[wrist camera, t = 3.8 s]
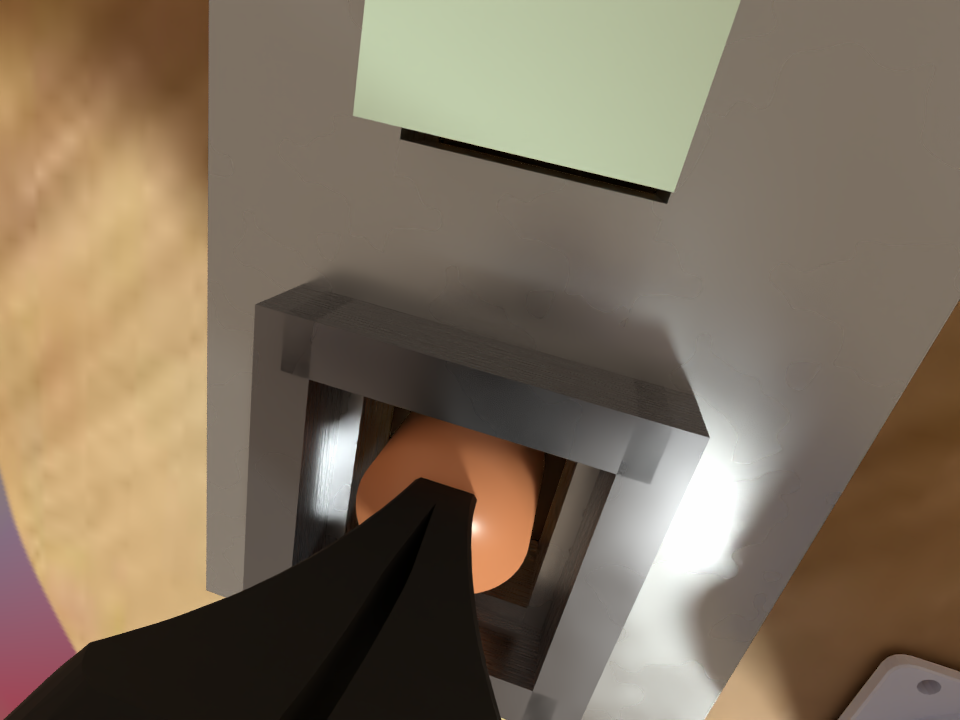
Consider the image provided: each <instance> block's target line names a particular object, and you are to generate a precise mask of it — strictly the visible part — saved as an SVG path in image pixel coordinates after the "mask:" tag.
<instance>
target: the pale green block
mask: <svg viewBox="0 0 960 720" xmlns="http://www.w3.org/2000/svg"><path fill="white" fill-rule="evenodd" d="M740 1H741V0H365V5H364V15H363V24H362V34H361V43H360V53H359V62H358V72H357V81H356V91H355V100H354V110H353V116H356V117H360V118H364V119H369V120H373V121H377V122H381V123H385V124H389V125H394V126H398V127H402V128H406V129H410V130H415V131H419V132H423V133H427V134H431V135H435V136H440V137H444V138H448V139H452V140H456V141H461V142H465V143H469V144H473V145H477V146H481V147H486V148H490V149H494V150H498V151H502V152H507V153H511V154H515V155H519V156H523V157H527V158H532V159H536V160H540V161H544V162H548V163H553V164H557V165H561V166H565V167H569V168H573V169H578V170H582V171H586V172H590V173H594V174H599V175H603V176H607V177H611V178H615V179H619V180H624V181H628V182H632V183H636V184H640V185H645V186H649V187H653V188H657V189H661V190H665V191H670V192H674V191H675V188H676V185H677V182H678V179H679V176H680V173H681V170H682V168H683V165H684V162H685V159H686V156H687V153H688V150H689V147H690V145H691V142H692V139H693V136H694V133H695V130H696V127H697V125H698V122H699V119H700V116H701V113H702V110H703V107H704V104H705V102H706V99H707V96H708V93H709V90H710V87H711V84H712V81H713V79H714V76H715V73H716V70H717V67H718V64H719V61H720V58H721V56H722V53H723V50H724V47H725V44H726V41H727V38H728V36H729V33H730V30H731V27H732V24H733V21H734V18H735V15H736V13H737V10H738V7H739V4H740Z"/></svg>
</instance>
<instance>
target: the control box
mask: <svg viewBox="0 0 960 720" xmlns="http://www.w3.org/2000/svg"><path fill="white" fill-rule="evenodd" d="M364 5H365V0H209V111H208V341H207V571H206V590H207V591H210V592H213V593H215V594H218V595H221V596H223V597H226V598H227V597H229V596H232V595H234V594H236V593H239V592H241V591H243V590H245V589H248V588H250V587H252V586H254V585H256V584H258V583H260V582H262V581H264V580H266V579H268V578H271V577H273V576H275V575H277V574H279V573H281V572H283V571H285V570H286V569H288V568H290V567H292V566H294V565H296V564H298V563H299V562H301V561H303V560H305V559H307V558H308V557H310V556H312V555H313V554H315V553H317V552H319V551H320V550H322V549H323V548H325V547H327V546H328V545H330V544H331V543H333V542H334V541H336V540H337V539H339V538H340V537H342V536H343V535H345V534H347V533H348V532H350V531H351V530H353V529H354V528H355V527H357V526H358V525H359V523H358V519H357V514H356V495H357V490H358V486H359V484H360V481H361V479H362V477H363V475H364V474H365V472H366V470H367V469H368V468H369V466H370V465H371V464H372V463H373V461H374V460H375V459H376V457H377V456H378V455H379V453H380V452H381V451H382V449H383V448H384V447H385V446H386V444H387V443H388V441H389V435H390V429H391V423H392V417H393V411H394V406H397V407H400V408H403V409H406V410H410V411H413V412H416V413H419V414H423V415H426V416H429V417H432V418H436V419H439V420H442V421H445V422H449V423H452V424H455V425H458V426H462V427H465V428H468V429H471V430H474V431H478V432H481V433H484V434H487V435H491V436H494V437H497V438H500V439H504V440H507V441H510V442H513V443H517V444H520V445H523V446H526V447H530V448H533V449H536V450H539V451H543V452H546V453H549V454H552V455H555V456H559V457H562V458H565V459H567V460H566V463H565V466H564V468H563V471H562V474H561V477H560V480H559V483H558V486H557V489H556V492H555V495H554V498H553V501H552V504H551V507H550V510H549V513H548V516H547V519H546V522H545V525H544V528H543V531H542V534H541V537H540V540H539V542H538V541H535V540H532V539H530V543H529V547H528V551H527V554H526V557H525V559H524V561H523V563H522V564H521V566H520V568H519V569H518V570H517V571H516V572H515V574H514V575H513V576H512V577H510V578H509V579H508V580H507V581H505V582H504V583H502V584H501V585H499V586H497V587H495V588H492V589H490V590H488V591H484V592H480V593H475V594H474V596H475V604H476V612H477V618H478V625H479V630H480V636H481V641H482V646H483V651H484V656H485V660H486V665H487V669H488V673H489V677H490V681H491V684H492V688H493V691H494V695H495V699H496V702H497V706H498V709H499V713H500V716H501V718H504V719H506V720H705V718H706V716H707V715H708V713H709V711H710V710H711V708H712V706H713V705H714V703H715V701H716V700H717V698H718V696H719V695H720V693H721V692H722V690H723V688H724V687H725V685H726V683H727V682H728V680H729V678H730V677H731V675H732V673H733V672H734V670H735V668H736V667H737V665H738V664H739V662H740V660H741V659H742V657H743V655H744V654H745V652H746V650H747V649H748V647H749V645H750V644H751V642H752V640H753V639H754V637H755V636H756V634H757V632H758V631H759V629H760V627H761V626H762V624H763V622H764V621H765V619H766V617H767V616H768V614H769V612H770V611H771V609H772V608H773V606H774V604H775V603H776V601H777V599H778V598H779V596H780V594H781V593H782V591H783V589H784V588H785V586H786V585H787V583H788V581H789V580H790V578H791V576H792V575H793V573H794V571H795V570H796V568H797V566H798V565H799V563H800V561H801V560H802V558H803V557H804V555H805V553H806V552H807V550H808V548H809V547H810V545H811V543H812V542H813V540H814V538H815V537H816V535H817V533H818V532H819V530H820V529H821V527H822V525H823V524H824V522H825V520H826V519H827V517H828V515H829V514H830V512H831V510H832V509H833V507H834V505H835V504H836V502H837V501H838V499H839V497H840V496H841V494H842V492H843V491H844V489H845V487H846V486H847V484H848V482H849V481H850V479H851V477H852V476H853V474H854V473H855V471H856V469H857V468H858V466H859V464H860V463H861V461H862V459H863V458H864V456H865V454H866V453H867V451H868V449H869V448H870V446H871V445H872V443H873V441H874V440H875V438H876V436H877V435H878V433H879V431H880V430H881V428H882V426H883V425H884V423H885V421H886V420H887V418H888V417H889V415H890V413H891V412H892V410H893V408H894V407H895V405H896V403H897V402H898V400H899V398H900V397H901V395H902V393H903V392H904V390H905V389H906V387H907V385H908V384H909V382H910V380H911V379H912V377H913V375H914V374H915V372H916V370H917V369H918V367H919V365H920V364H921V362H922V361H923V359H924V357H925V356H926V354H927V352H928V351H929V349H930V347H931V346H932V344H933V342H934V341H935V339H936V337H937V336H938V334H939V333H940V331H941V329H942V328H943V326H944V324H945V323H946V321H947V319H948V318H949V316H950V314H951V313H952V311H953V310H954V308H955V306H956V305H957V303H958V301H959V300H960V0H741V1H740V4H739V7H738V10H737V13H736V15H735V18H734V21H733V24H732V27H731V30H730V33H729V36H728V38H727V41H726V44H725V47H724V50H723V53H722V56H721V58H720V61H719V64H718V67H717V70H716V73H715V76H714V79H713V81H712V84H711V87H710V90H709V93H708V96H707V99H706V102H705V104H704V107H703V110H702V113H701V116H700V119H699V122H698V125H697V127H696V130H695V133H694V136H693V139H692V142H691V145H690V147H689V150H688V153H687V156H686V159H685V162H684V165H683V168H682V170H681V173H680V176H679V179H678V182H677V185H676V188H675V191H674V192H670V191H665V190H661V189H657V191H656V194H652V193H647V192H643V191H639V190H635V189H631V188H627V187H623V186H618V185H614V184H610V183H606V182H602V181H598V180H593V179H589V178H585V177H581V176H577V175H573V174H569V173H564V172H560V171H556V170H552V169H548V168H544V167H539V166H535V165H531V164H527V163H523V162H519V161H514V160H510V159H506V158H502V157H498V156H494V155H490V154H485V153H481V152H477V151H473V150H469V149H465V148H460V147H456V146H452V145H448V144H444V143H440V142H439V138H440V136H435V135H431V134H427V133H423V132H419V131H415V130H410V129H406V128H402V127H398V126H394V125H389V124H385V123H381V122H377V121H373V120H369V119H364V118H360V117H356V116H353V110H354V100H355V91H356V81H357V72H358V62H359V53H360V43H361V34H362V24H363V15H364Z"/></svg>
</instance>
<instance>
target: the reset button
mask: <svg viewBox="0 0 960 720" xmlns="http://www.w3.org/2000/svg"><path fill="white" fill-rule="evenodd" d="M544 465H545V457H544V452H543V451H539V450H536V449H533V448H530V447H526V446H523V445H520V444H517V443H513V442H510V441H507V440H504V439H500V438H497V437H494V436H491V435H487V434H484V433H481V432H478V431H474V430H471V429H468V428H465V427H462V426H458V425H455V424H452V423H449V422H445V421H442V420H439V419H436V418H432V417H429V416H426V415H423V414H419V413H416V412H413V411H411V413H410V414H409V415H408V417H407V418H406V419H405V421H404V422H403V423H402V425H401V426H400V427H399V428H398V430H397V431H396V432H395V434H394V435H393V436H392V438H391V439H390V440H389V442H388V443H387V444H386V446H385V447H384V448H383V449H382V451H381V452H380V453H379V455H378V456H377V457H376V459H375V460H374V461H373V463H372V464H371V465H370V466H369V468H368V469H367V470H366V472H365V474H364V475H363V477H362V479H361V481H360V484H359V486H358V490H357V495H356V514H357V519H358V523H359V525H360V524H361V523H362V522H364V521H365V520H366V519H368V518H369V517H371V516H372V515H373V514H375V513H376V512H377V511H379V510H380V509H381V508H383V507H384V506H385V505H386V504H388V503H389V502H390V501H391V500H393V499H394V498H395V497H396V496H397V495H399V494H400V493H401V492H402V491H403V490H404V489H406V488H407V487H408V486H409V485H410V484H411V483H412V482H413V481H414V480H416V479H418V478H420V477H422V478H425V479H428V480H431V481H435V482H438V483H441V484H444V485H447V486H450V487H453V488H456V489H459V490H463V491H466V492H469V493H472V494H474V495H475V497H476V499H477V503H476V506H475V510H474V514H473V522H472V538H471V550H472V574H473V586H474V594H475V593H480V592H484V591H488V590H490V589H492V588H495V587H497V586H499V585H501V584H502V583H504V582H505V581H507V580H508V579H509V578H510V577H512V576H513V575H514V574H515V572H516V571H517V570H518V569H519V568H520V566H521V564H522V563H523V561H524V559H525V557H526V554H527V551H528V547H529V543H530V538H531V533H532V528H533V523H534V518H535V513H536V508H537V503H538V498H539V493H540V488H541V483H542V478H543V473H544Z"/></svg>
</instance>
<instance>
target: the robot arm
mask: <svg viewBox="0 0 960 720" xmlns="http://www.w3.org/2000/svg"><path fill="white" fill-rule="evenodd" d="M476 503H477V499H476V497H475V495H474V494H472V493H469V492H466V491H463V490H459V489H456V488H453V487H450V486H447V485H444V484H441V483H438V482H435V481H431V480H428V479H425V478H422V477H420V478H418V479H416V480H414V481H413V482H412V483H411V484H410V485H409V486H408V487H407V488H406V489H404V490H403V491H402V492H401V493H400V494H399V495H397V496H396V497H395V498H394V499H393V500H391V501H390V502H389V503H388V504H386V505H385V506H384V507H383V508H381V509H380V510H379V511H377V512H376V513H375V514H373V515H372V516H371V517H369V518H368V519H366V520H365V521H364V522H362V523H361V524H360V525H358V526H357V527H355V528H354V529H353V530H351V531H350V532H348V533H347V534H345V535H343V536H342V537H340V538H339V539H337V540H336V541H334V542H333V543H331V544H330V545H328V546H327V547H325V548H323V549H322V550H320V551H319V552H317V553H315V554H313V555H312V556H310V557H308V558H307V559H305V560H303V561H301V562H299V563H298V564H296V565H294V566H292V567H290V568H288V569H286V570H285V571H283V572H281V573H279V574H277V575H275V576H273V577H271V578H268V579H266V580H264V581H262V582H260V583H258V584H256V585H254V586H252V587H250V588H248V589H245V590H243V591H241V592H239V593H236V594H234V595H232V596H229V597H227V598H224V599H222V600H219V601H216V602H214V603H211V604H209V605H206V606H203V607H201V608H198V609H196V610H193V611H190V612H188V613H185V614H183V615H180V616H177V617H174V618H171V619H168V620H165V621H162V622H159V623H156V624H153V625H149V626H146V627H142V628H139V629H136V630H132V631H129V632H126V633H122V634H119V635H115V636H112V637H109V638H105V639H101V640H98V641H94V642H90V643H89V644H88V645H87V646H85V647H84V648H83V649H82V650H81V651H79V652H78V653H77V654H76V655H74V656H73V657H72V658H71V659H70V660H68V661H67V662H66V663H64V664H63V665H62V666H61V667H60V668H58V669H57V670H56V671H55V672H54V673H53V674H52V675H51V676H50V677H48V678H47V679H46V680H45V681H44V682H43V683H42V684H41V685H40V686H39V687H38V688H37V689H36V690H35V691H33V692H32V693H31V694H30V695H29V696H28V697H27V698H26V699H25V700H24V701H23V702H22V703H21V704H20V705H19V706H18V707H17V708H16V709H15V710H13V711H12V712H11V713H10V714H9V715H8V716H7V717H6V718H5V719H4V720H501V716H500V713H499V709H498V706H497V702H496V699H495V695H494V691H493V688H492V684H491V681H490V677H489V673H488V669H487V665H486V660H485V656H484V651H483V646H482V641H481V636H480V630H479V625H478V618H477V612H476V604H475V596H474V586H473V574H472V550H471V538H472V522H473V514H474V510H475V506H476ZM922 680H923V681H922ZM838 720H960V671H957V670H954V669H951V668H947V667H944V666H941V665H938V664H935V663H932V662H929V661H926V660H923V659H920V658H917V657H914V656H910V655H905V654H896V655H892V656H889V657H887V658H886V659H885V660H884V661H882V663H881V664H880V665H879V666H878V668H877V669H876V670H875V672H874V673H873V674H872V676H871V677H870V678H869V680H868V681H867V682H866V683H865V685H864V686H863V687H862V689H861V690H860V691H859V693H858V694H857V695H856V696H855V698H854V699H853V700H852V702H851V703H850V704H849V706H848V707H847V708H846V709H845V711H844V712H843V713H842V715H841V716H840V717H839V719H838Z"/></svg>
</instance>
